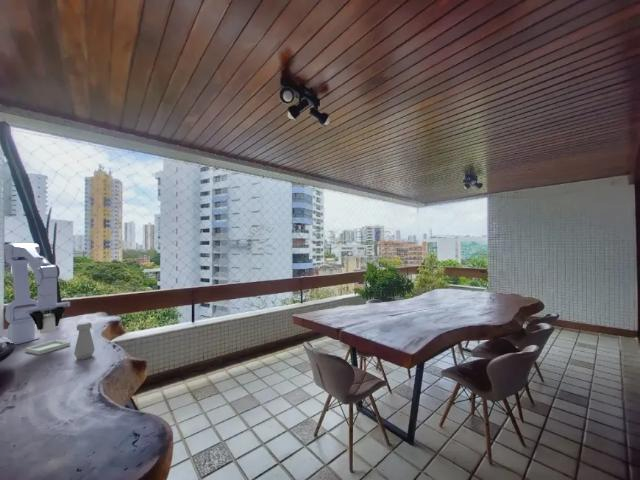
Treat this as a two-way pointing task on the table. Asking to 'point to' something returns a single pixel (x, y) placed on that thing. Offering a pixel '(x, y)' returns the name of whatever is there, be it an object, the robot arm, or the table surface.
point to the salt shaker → (84, 342)
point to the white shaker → (48, 323)
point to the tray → (47, 347)
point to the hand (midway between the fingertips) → (47, 327)
